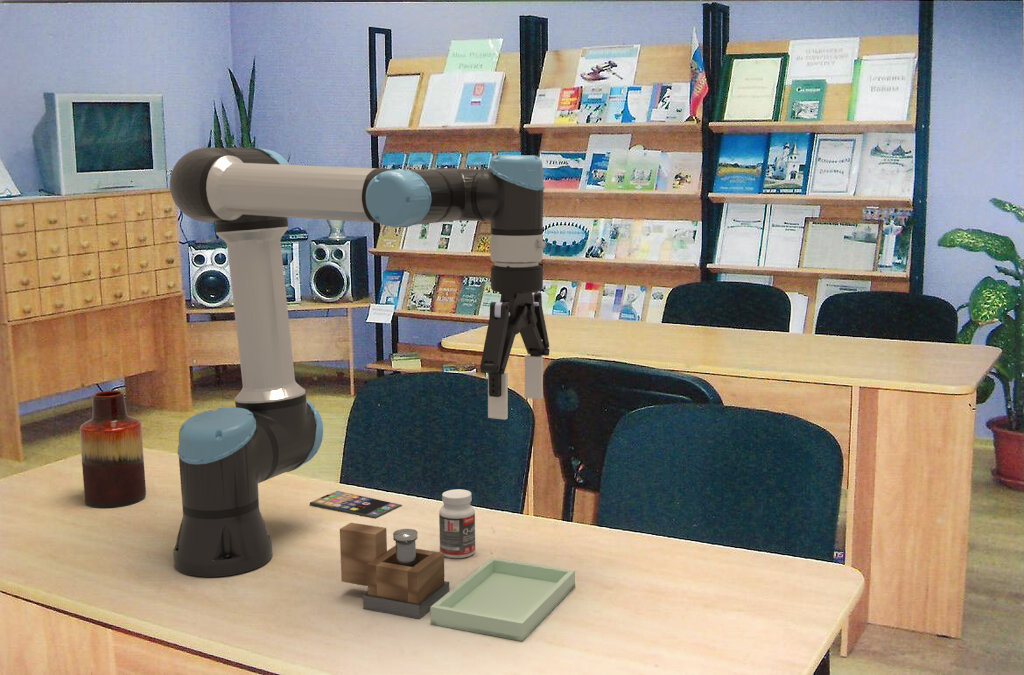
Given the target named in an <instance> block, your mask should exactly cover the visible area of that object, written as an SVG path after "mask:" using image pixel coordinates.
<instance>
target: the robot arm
mask: <svg viewBox="0 0 1024 675" xmlns="http://www.w3.org/2000/svg"><path fill="white" fill-rule="evenodd" d="M543 169H544V167H543V162H542V159H541V158H540V157H538V156H537V155H535V154H534V155H533V154H532V155H527V154H526V155H523V154H521V155H512V154H511V155H505V154H504V155H503V154H502V155H499V154H498V155H493V156H492V157H491V158H490V163H489V168H481V169H477V168H475V169H474V168H448V167H434V168H425V169H406V168H405V169H404V168H401V169H399V168H375V167H374V168H372V167H352V166H351V167H350V166H349V167H348V166H325V165H303V164H302V165H301V164H290V163H289V162H288V160H287V159H286V158H284V157H283V156H282V155H281V154H280V153H278V152H276V151H273V150H271V149H268V148H266V149H265V148H259V147H256V146H255V147H250V146H248V147H213V146H212V147H201V148H197V149H193V150H191V151H189V152H186V154H184V155H183V156H181V157H180V158H179V159H178V160H177V161H176V163H175V164H174V166H173V168H172V170H171V174H170V178H169V190H170V191H169V192H170V195H171V198H172V200H173V202H174V204H175V205H176V207H177V208H178V209H179V210H180V212H182V213H183V215H185V216H187V217H188V218H190V219H192V220H194V221H198V222H201V223H214V229H215V234H216V236H217V237H219V239H222V241H223V242H224V243H225V245H226V247H227V248H226V250H227V257H228V268H229V275H230V284H231V293H232V302H233V309H234V310H233V311H234V319H235V320H234V321H235V329H236V336H237V337H236V338H237V346H238V355H239V362H240V372H241V373H240V374H241V381H242V382H241V384H242V388H241V390H240V391H239V393H238V394H237V395H236V396H235V397H234V403H235V406H234V407H233V406H231V407H221V408H220V407H219V408H217V409H215V410H211V409H210V410H207V411H203V412H200V413H197V414H195V415H193V416H191V417H189V418H188V419H186V420H185V421H184V422H183V423H182V425H181V426H180V428H179V430H178V445H177V455H178V463H179V464H178V465H179V476H180V491H181V492H180V493H181V504H182V506H181V507H182V519H181V522H180V526H179V529H178V533H177V538H176V543H175V546H174V548H173V564H174V567H175V569H176V570H177V571H179V572H180V573H182V574H184V575H189V576H195V577H204V578H205V577H207V578H208V577H209V578H211V577H212V578H213V577H217V578H218V577H227V576H235V575H239V574H243V573H247V572H250V571H253V570H255V569H258V568H261V567H262V566H264V565H266V564H268V562H270V561H271V559H272V558H273V554H274V553H273V541H272V538H271V536H270V534H269V532H268V530H267V527H266V524H265V522H264V519H263V516H262V513H261V510H260V504H259V503H260V502H259V484H260V483H263V482H265V481H268V480H270V479H272V478H275V477H277V476H280V475H281V474H285V473H288V472H292V471H295V470H297V469H299V468H300V467H301V466H303V465H304V464H307V463H308V462H310V461H311V460H312V459H313V458H314V457H315V456H316V454H317V453H318V451H319V450H320V447H321V445H322V442H323V438H324V423H323V419H322V417H321V414H320V412H319V410H316V409H315V405H314V404H313V403H312V402H311V401H309V400H308V399H307V392H306V391H307V390H306V389H305V388H304V387H303V386H301V385H300V384H299V383H297V381H296V378H295V369H294V367H295V366H294V357H293V349H292V348H293V347H292V339H291V330H290V329H291V328H290V319H289V310H288V300H287V293H286V292H287V291H286V283H285V282H286V281H285V280H286V279H285V274H284V271H285V270H284V262H283V255H282V245H281V242H282V241H281V240H282V237H283V236H284V234H285V233H286V232H287V231H288V230H289V221H288V218H295V219H311V220H313V219H314V220H323V221H324V220H326V221H343V222H344V221H345V222H360V223H372V224H373V223H377V224H380V225H383V226H385V227H390V228H391V227H392V228H410V227H412V226H417V225H424V224H438V223H444V222H445V223H446V222H455V221H457V222H459V221H461V222H463V221H465V222H466V221H467V222H469V221H471V222H490V249H489V251H490V254H489V255H490V256H489V258H490V261H491V262H492V263H494V264H493V265H492V266H491V267H490V289H491V291H492V292H495V293H499V294H500V300H499V302H498V301H491V302H490V304H489V319H488V324H487V328H486V335H485V340H484V345H483V351H482V356H481V361H480V367H479V369H480V373H484V374H487V418H488V419H495V420H496V419H497V420H507V419H508V415H509V411H508V410H509V409H508V408H509V406H508V404H509V402H508V401H509V400H508V398H509V397H508V396H509V392H508V391H509V390H508V389H509V384H508V383H509V379H508V378H509V374H508V373H507V372H505V371H506V369H507V365H508V361H509V358H510V354H511V351H512V348H513V345H514V340H515V338H516V335H518V334H520V336H521V339H522V342H523V345H524V347H525V350H526V353H527V355H524V398H525V399H531V400H543V399H544V394H543V393H544V356H545V357H546V356H547V357H548V356H549V355H550V342H549V336H548V331H547V325H546V321H545V315H544V310H543V299H542V298H543V297H542V292H541V291H542V290H543V287H544V281H543V280H544V278H543V277H544V268H543V266H542V265H541V264H539V263H540V262H542V261H543V258H544V256H543V254H544V252H543V250H544V249H545V247H546V245H547V244H546V241H544V234H543V233H544V226H543V224H544V223H543V222H544V191H545V185H544V172H543V171H544V170H543Z"/></svg>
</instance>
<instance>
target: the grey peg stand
mask: <svg viewBox="0 0 1024 675" xmlns="http://www.w3.org/2000/svg"><path fill="white" fill-rule="evenodd" d="M392 536H393V541H395V545H396V564H397V565H403V566H409V567H414V566H415V565H416V549H417V548H416V545H417V544H416V540H417V539H418V531H417V529H412V528H400V529H397V530H394V531H393V534H392ZM449 591H450V581H445V583H443V584H442V585H441V586H439V587H438V588H437V589H436V590H434V591H433V592H432V593H431V594H429V595H428V596H427V597H425V598H424V599H423V600H422V601H420V602H419V603H412V602H407V601H401V600H396V599H390V598H385V597H379V596H374V595H368V591H367V592H365V593H364V594H363V595H362V603H363V604H362V606H363V609H364V610H368V611H374V612H379V613H386V614H390V615H394V616H395V615H396V616H401V617H405V618H412V619H417V620H421V619H422V618H423V617H424V616H425V615H427V614H428V613H430V612H431V609H430V607H431V606H432V605H433V604H435V603H436V602H437V601H438V600H440V599H441V598H442V597H443V596H444V595H446V594H447V593H448V592H449Z"/></svg>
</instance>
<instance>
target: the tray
mask: <svg viewBox="0 0 1024 675" xmlns="http://www.w3.org/2000/svg"><path fill="white" fill-rule="evenodd" d="M575 588H576V570H572V569H566V568H559V567H553V566H547V565H540V564H535V563H534V564H533V563H528V562H522V561H521V562H520V561H515V560H508V559H500V558H497V557H496V558H495V557H490V558H489V559H488V560H487V561H486V562H484V563H483V564H482V565H481V566H479V567H478V568H477V569H476V570H474V571H473V572H472V573H470V575H469V574H468V576H467V577H466V578H465V579H462V581H461V582H459V583H458V584H457V585H455V586H454V587H453V588H451V590H449V592H448V593H447V594H446V595H444V596H443V597H442V598H441V599H440V600H438V601H437V602H436V603H435V604H433V605H432V606H431V607H430V609H431V610H430V625H433V626H438V627H445V628H449V629H455V630H460V631H465V632H469V633H470V632H471V633H477V634H481V635H486V636H492V637H497V638H502V639H508V640H514V641H517V642H518V641H519V642H523V641H524V640H526V638H528V637H529V636H530V634H532V633H533V631H534V630H535V629H536V628H538V626H539V625H540V624H541V623H542V622H543V621H544V620H545V619H546V618H547V617H548V616H549V615H550V613H551V612H553V610H555V609H556V607H557V606H558V605H559V604H560V603H561V602H562V601H563V600H564V599H565V598H566V597H567V596H568V595H569V594H570V593H571V592H572V591H573V590H574V589H575Z"/></svg>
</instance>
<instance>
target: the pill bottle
mask: <svg viewBox="0 0 1024 675" xmlns="http://www.w3.org/2000/svg"><path fill="white" fill-rule="evenodd" d="M472 498H473V497H472V492H471V491H470V490H466V489H459V488H458V489H457V488H456V489H449V490H446V491H444V492H442V494H441V500H442V503H443V505H442V506H441V507H440V508H439V513H438V515H439V516H438V517H439V522H438V523H439V527H438V528H439V552H441V553H444V558H445V557H446V558H450V559H464V558H468V557H471V556H472V555H473V554H475V551H476V512H475V511H476V510H475V508H474V506H473V505H472V504H471V503H472Z"/></svg>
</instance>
